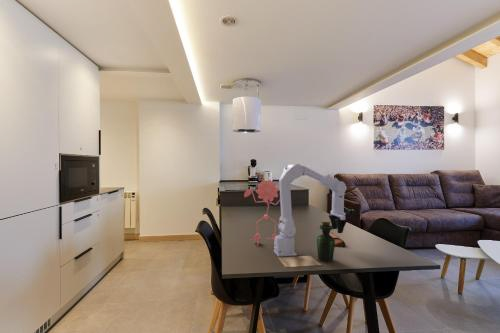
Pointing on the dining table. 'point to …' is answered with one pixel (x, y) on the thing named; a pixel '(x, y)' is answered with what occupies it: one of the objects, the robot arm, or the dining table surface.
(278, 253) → the robot arm
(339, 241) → the sunglasses case
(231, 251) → the dining table surface
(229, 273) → the dining table surface
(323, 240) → the potion bottle
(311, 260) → the placemat
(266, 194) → the figurine
